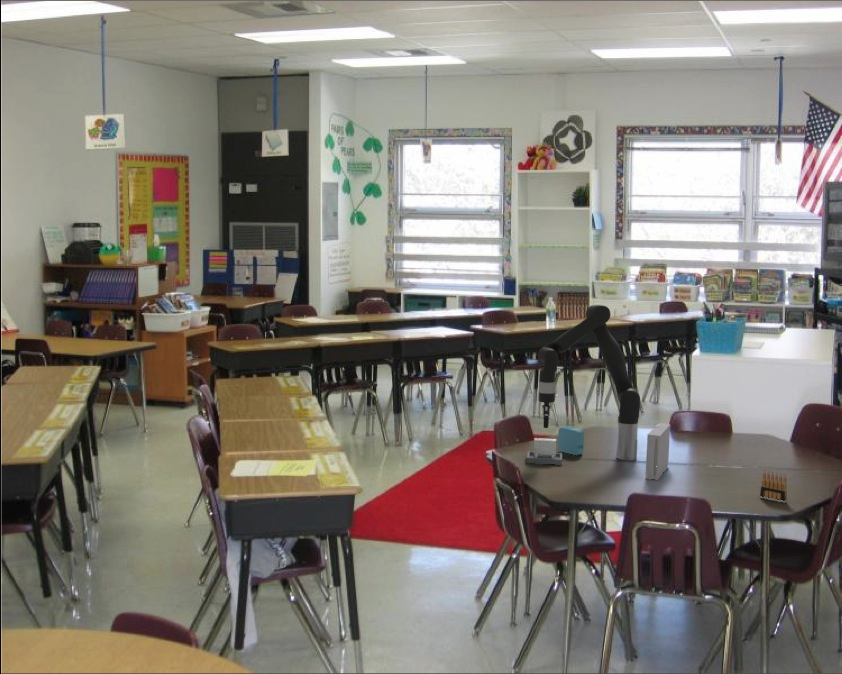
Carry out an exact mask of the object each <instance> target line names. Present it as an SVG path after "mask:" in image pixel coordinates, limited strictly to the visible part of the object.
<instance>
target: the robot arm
mask: <svg viewBox="0 0 842 674" xmlns="http://www.w3.org/2000/svg"><path fill="white" fill-rule="evenodd" d="M610 318H611V310H610V308H609V307H608V306H606V305H604V304H592V305H590V306H588V307H587V309H586V311H585V319H583V320H582V321H581V322H579V323H578V324H576V325H574V326H573V327H571V328H569V329H568V330H566V331H565V332H563V333H562V334H561V335H559V337H557V338H556V339H555V340H553V341H551V342H549V343H547V344H546V345H544V346H542V347H541V348H540V349H539V350H538V353H537V358H538V361H540V362H541V363H543V368H541V369H540V370H539V384H538V402H540V403H543V404H542V405H541V406H542V407H541V409H542V416H543V418H542V419H543V428H544V429H548V428H549V423H550V421H549V420H550V415H551V410H552V405H550V403H552V404H553V403H554V402H555V401H556V372H557V368H558V363H559V354H560V353H562V354H563V353H565V352H566V351H568V350H569V349H571V348H572V347H573V346H574V345H576V344H577V343H578V342H579V341H580V340H582V339H583V338H584V337H586V336H587V335H588V334H590V333H593V335H594V337H595V339H596V342H597V346H598V348H599V350H600V354H601V357H602V360H603V361H604V365H605V367H606V369H607V371H608V373H609V375H610V377H611V379H612V381H613V384H614V388H615V390H616V391H615V393H616V396H617V400H618V402H619V413H618V416H617V433H616V437H617V438H616V456H615V457H616V459H617V458H618V460H622V461H637V459H638V458H637V456H638V430H639V429H638V428H639V418H640V408H641V397H640V394H639V393H638V392H637V390H635V387H634V386H633V384H632V382H631V380H630V377H629V375H628V369H627V363H626V359H625V355H624V354H623V351H622V349H621V347H620V344H619V343H618V341H616V339H615V337H613V335H612V334H611V332H610V330H609V329H608V326H607V323H608V321H610Z"/></svg>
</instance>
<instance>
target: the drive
mask: <svg viewBox="0 0 842 674" xmlns="http://www.w3.org/2000/svg"><path fill="white" fill-rule="evenodd" d="M533 439H534V440H533V452H534V458H535V453H537V454H538V458H549V459H552V454H554V459H556V453H557V438H544V437H541V438H540V437H534V438H533Z"/></svg>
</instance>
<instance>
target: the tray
mask: <svg viewBox="0 0 842 674" xmlns="http://www.w3.org/2000/svg"><path fill="white" fill-rule="evenodd" d="M527 463H536V464H535V465H543V464H555V465H554V466H563V453H562V452H556V459H554V454H552V459H549V458H538V454H537V453H535V458H534V451H527V455H526V464H527Z"/></svg>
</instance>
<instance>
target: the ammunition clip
mask: <svg viewBox="0 0 842 674" xmlns="http://www.w3.org/2000/svg"><path fill="white" fill-rule="evenodd" d="M778 475H779V476H778ZM761 478H762V479H761V486H760V493H759V497H760V496H762V497H764V496H765V497H768V498H774V499H777V500H783V501H785V500H786V501H787V494H788V493H787V475H786V473H785V474H784V476H783V475H782V473H780V474H778V472H775V474H774V471H772V472H771V473H770V471H769V470H768V471H767V473H766V470H765V469H764V471H762V477H761Z"/></svg>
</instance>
